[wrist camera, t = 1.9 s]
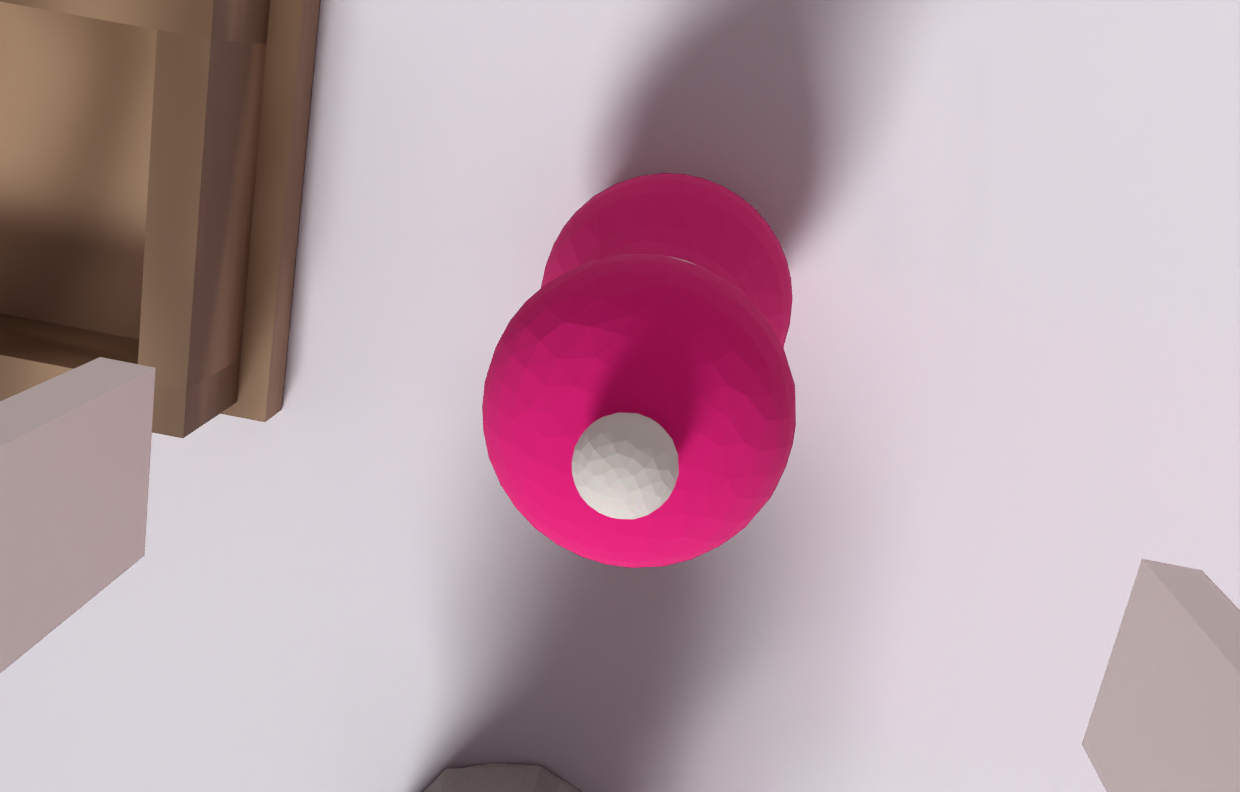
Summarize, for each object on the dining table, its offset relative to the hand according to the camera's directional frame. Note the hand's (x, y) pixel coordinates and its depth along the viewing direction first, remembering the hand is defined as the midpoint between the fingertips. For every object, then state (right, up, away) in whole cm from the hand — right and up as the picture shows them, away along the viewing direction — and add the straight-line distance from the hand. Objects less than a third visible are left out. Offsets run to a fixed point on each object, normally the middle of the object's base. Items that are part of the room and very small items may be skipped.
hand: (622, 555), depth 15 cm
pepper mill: (+2, +6, +22) cm, 23 cm away
